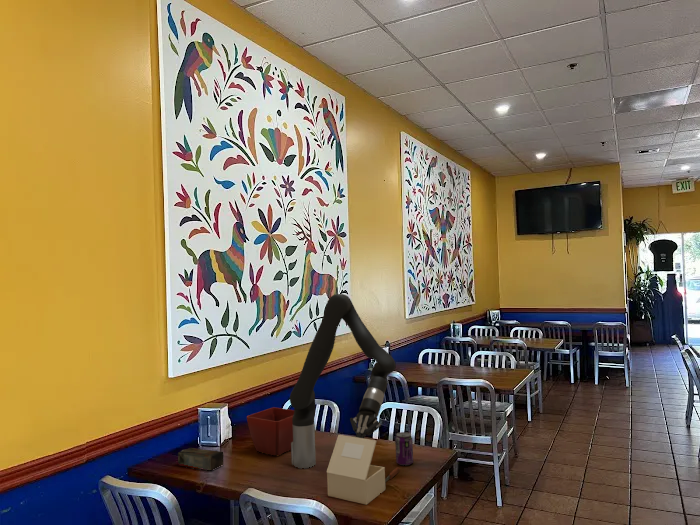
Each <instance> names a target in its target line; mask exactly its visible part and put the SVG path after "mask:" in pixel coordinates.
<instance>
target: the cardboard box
mask: <svg viewBox="0 0 700 525" xmlns="http://www.w3.org/2000/svg"><path fill="white" fill-rule="evenodd" d="M385 471H386V467H385V466H381V465H380V466H378V465H374V464H370V467H369V471H368V474H367V478H366V481H365V480H360V479H355V478H350V477H345V476H340V475H335V474H330V473H327V472H326V478H327V479H326V480H327V482H326V483H327V496H328V497H332V498H336V499H340V500H345V501H349V502H354V503H358V504H362V505H368V504H369V503H371V502H372V501H374V499H375V498H377V497H378V496H379V495H380V493H381V494H382V493H383V492H384V491H386V482H385V479H386V472H385Z"/></svg>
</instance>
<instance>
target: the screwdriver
mask: <svg viewBox="0 0 700 525" xmlns="http://www.w3.org/2000/svg"><path fill="white" fill-rule="evenodd" d="M400 470H401V469H400V467H398V466H397V467H395V468H394V469H393V470H392V471H390V473H388V476H387V477H385V483H387V482H388V481H389V480H392V479H393V477H394V476H396V475H397V474H399V473H400Z"/></svg>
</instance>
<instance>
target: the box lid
mask: <svg viewBox="0 0 700 525" xmlns="http://www.w3.org/2000/svg"><path fill="white" fill-rule="evenodd" d="M376 445H377V440H375V439H369V438H365V437H364V438H357V437H356V436H350V435H343V434H338V435H337V438H336V441H335V445H334V446H333V451H332V453H331V457H330V460H329V463H328V467H327V469H326V474H327V473H330V474H335V475H340V476H345V477H350V478H355V479H360V480H365V481H366V478H367V474H368V471H369V467H370V465H371V463H372V460H373V455H374V452H375V448H376Z"/></svg>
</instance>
